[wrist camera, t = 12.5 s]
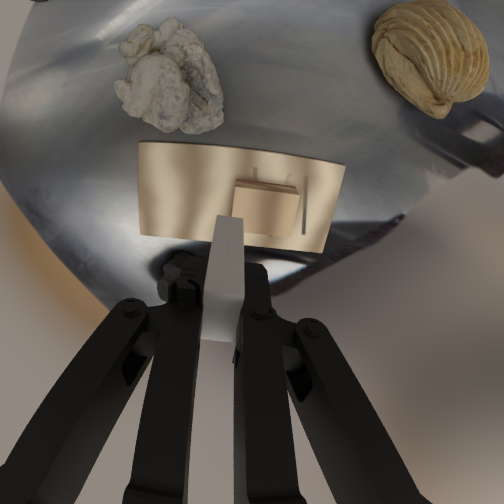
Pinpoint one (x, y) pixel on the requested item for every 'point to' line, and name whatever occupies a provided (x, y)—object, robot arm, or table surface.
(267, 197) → the block
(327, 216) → the board
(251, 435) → the robot arm
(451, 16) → the fossil
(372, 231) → the table surface
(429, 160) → the table surface
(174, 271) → the mineral
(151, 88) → the mineral
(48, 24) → the table surface
